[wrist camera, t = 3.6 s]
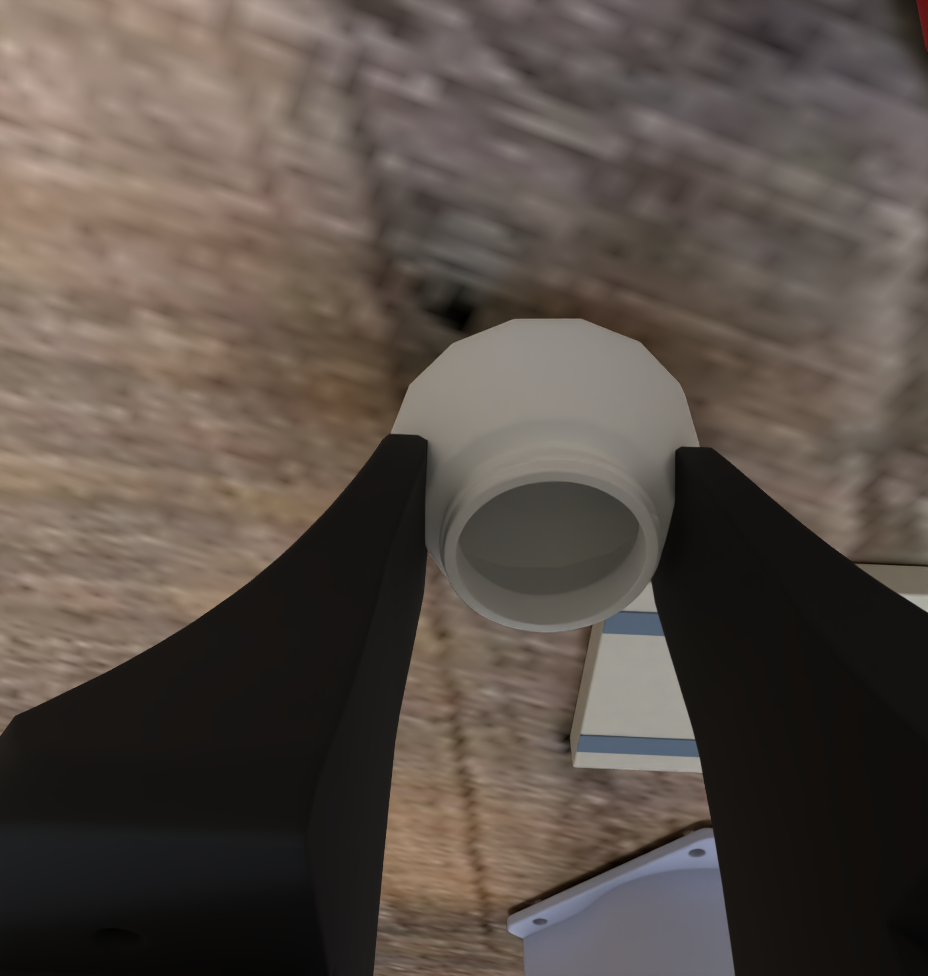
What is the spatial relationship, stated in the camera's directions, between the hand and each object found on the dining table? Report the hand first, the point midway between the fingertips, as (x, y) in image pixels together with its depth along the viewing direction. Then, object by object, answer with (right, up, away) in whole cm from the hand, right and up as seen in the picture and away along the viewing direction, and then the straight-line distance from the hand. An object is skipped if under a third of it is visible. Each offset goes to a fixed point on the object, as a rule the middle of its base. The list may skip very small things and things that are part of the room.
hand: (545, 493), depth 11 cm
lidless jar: (0, +1, +1) cm, 2 cm away
